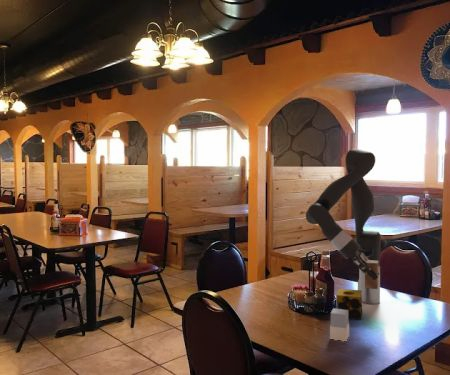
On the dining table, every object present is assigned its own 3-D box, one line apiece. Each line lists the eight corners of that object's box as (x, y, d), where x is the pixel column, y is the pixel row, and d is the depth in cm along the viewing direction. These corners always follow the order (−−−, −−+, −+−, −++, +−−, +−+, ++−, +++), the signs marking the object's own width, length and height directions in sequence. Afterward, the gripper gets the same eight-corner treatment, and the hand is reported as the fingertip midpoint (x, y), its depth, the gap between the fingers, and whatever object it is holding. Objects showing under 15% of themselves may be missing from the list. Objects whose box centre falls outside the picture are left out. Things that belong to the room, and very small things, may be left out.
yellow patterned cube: (362, 312, 189) (362, 290, 188) (361, 320, 179) (361, 296, 179) (338, 310, 192) (338, 288, 192) (336, 318, 183) (336, 294, 182)
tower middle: (330, 326, 160) (330, 312, 160) (333, 321, 165) (333, 308, 165) (345, 328, 158) (345, 314, 158) (348, 323, 163) (348, 310, 163)
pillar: (364, 288, 167) (365, 262, 166) (366, 284, 171) (366, 259, 170) (377, 289, 165) (377, 263, 164) (378, 286, 169) (378, 260, 169)
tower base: (330, 339, 160) (330, 326, 160) (333, 333, 166) (333, 320, 166) (346, 342, 158) (346, 328, 158) (349, 336, 163) (349, 323, 163)
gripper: (349, 241, 164) (382, 275, 159) (354, 234, 177) (385, 266, 172) (334, 253, 166) (367, 288, 162) (341, 246, 179) (371, 278, 175)
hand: (376, 276), depth 167 cm, fingers closed on pillar, 4 cm apart
